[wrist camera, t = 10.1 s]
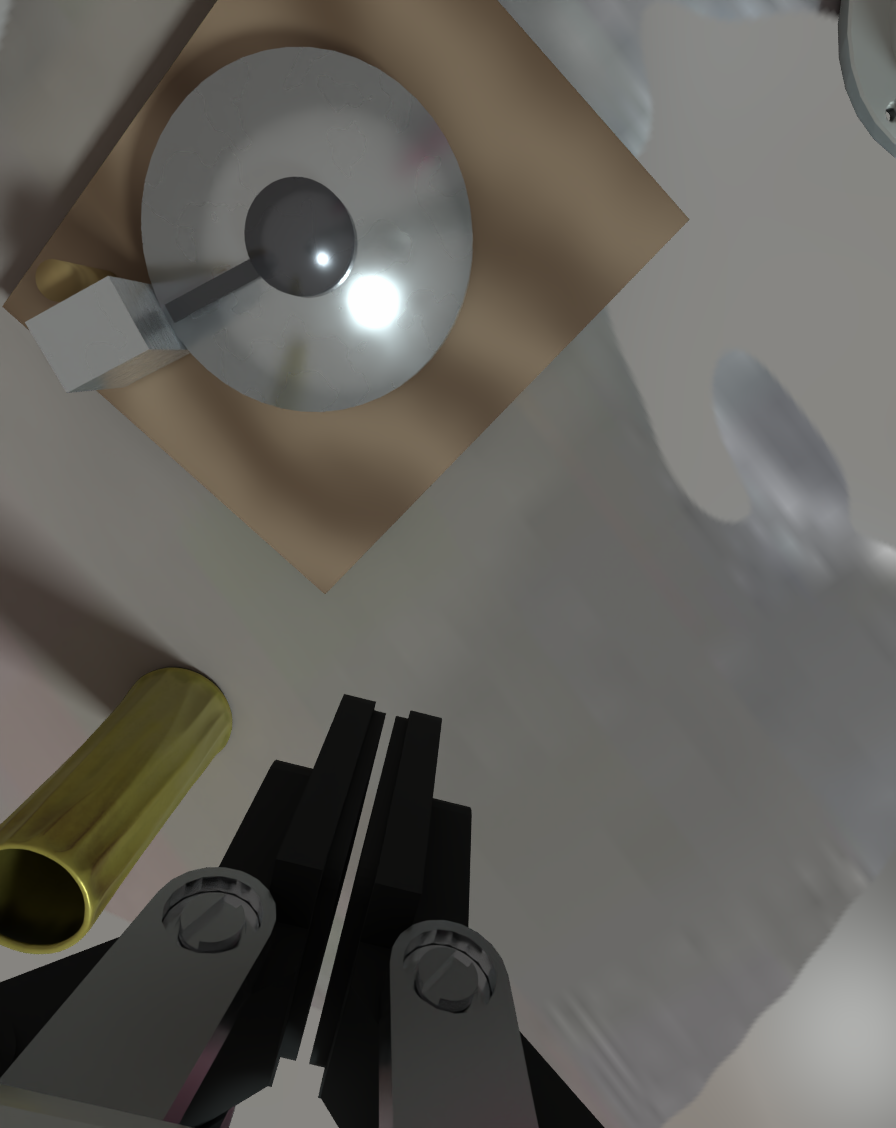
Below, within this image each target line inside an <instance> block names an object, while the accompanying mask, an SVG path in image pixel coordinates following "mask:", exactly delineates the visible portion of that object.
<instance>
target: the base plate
mask: <svg viewBox="0 0 896 1128" xmlns="http://www.w3.org/2000/svg"><path fill="white" fill-rule="evenodd" d="M283 47H314V48H320V49H326V50H332V51H336V52H339V53H342V54H346V55H349V56H352V57H355V58H357V59H360V60H362V61H364V62H366V63H368V64H370V65H372V66H374V67H376V68H378V69H379V70H381V71H382V72H384V73H385V74H387V75H388V76H390V77H391V78H393V79H394V80H396V81H397V82H398V83H400V84H401V85H402V86H403V87H404V88H405V89H406V90H407V91H409V92H410V93H411V94H412V95H413V96H414V97H415V98H416V99H417V100H418V101H419V102H420V103H421V105H422V106H423V107H424V108H425V109H426V110H427V112H428V113H429V114H430V115H431V116H432V117H433V119H434V121H435V122H436V124H437V125H438V127H439V128H440V130H441V131H442V133H443V134H444V136H445V137H446V139H447V141H448V143H449V145H450V147H451V149H452V151H453V153H454V156H455V158H456V160H457V162H458V165H459V168H460V171H461V174H462V177H463V180H464V182H465V186H466V191H467V195H468V200H469V205H470V211H471V221H472V232H473V258H472V267H471V274H470V280H469V285H468V289H467V292H466V296H465V299H464V303H463V306H462V308H461V311H460V313H459V315H458V318H457V320H456V323H455V325H454V327H453V328H452V330H451V332H450V334H449V335H448V337H447V339H446V340H445V342H444V344H443V345H442V346H441V348H440V349H439V350H438V351H437V353H436V354H435V355H434V357H433V358H432V359H431V360H430V361H429V362H428V363H427V364H426V365H425V366H424V367H423V368H422V369H421V370H420V371H419V372H418V373H417V374H416V375H415V376H413V377H412V378H411V379H410V380H408V381H407V382H406V383H404V384H403V385H402V386H400V387H398V388H397V389H395V390H393V391H391V392H390V393H388V394H386V395H384V396H382V397H380V398H377V399H375V400H372V401H370V402H367V403H365V404H362V405H359V406H355V407H351V408H347V409H343V410H336V411H326V412H301V411H295V410H289V409H283V408H279V407H275V406H272V405H269V404H265V403H262V402H259V401H257V400H255V399H253V398H250V397H248V396H246V395H244V394H242V393H240V392H238V391H237V390H235V389H233V388H232V387H230V386H228V385H227V384H225V383H224V382H222V381H221V380H220V379H218V378H217V377H216V376H215V375H213V374H212V373H211V372H210V371H208V370H207V369H206V368H205V367H204V366H203V365H202V364H201V363H200V362H199V361H198V360H197V359H196V358H195V357H194V356H193V355H192V354H191V353H189V354H187V355H185V356H184V357H182V358H180V359H178V360H176V361H174V362H172V363H170V364H168V365H166V366H164V367H163V368H161V369H159V370H157V371H155V372H153V373H151V374H149V375H147V376H145V377H143V378H141V379H140V380H138V381H136V382H134V383H132V384H130V385H128V386H126V387H122V388H112V389H102V390H97V391H98V392H99V393H100V394H101V395H102V396H103V397H104V398H106V399H107V400H108V401H109V402H110V403H111V404H112V405H113V406H114V407H116V408H117V409H118V410H119V411H120V412H121V413H122V414H123V415H125V416H126V417H127V418H128V419H129V420H130V421H131V422H132V423H134V424H135V425H136V426H137V427H138V428H139V429H140V430H141V431H143V432H144V433H145V434H146V435H147V436H148V437H149V438H150V439H151V440H153V441H154V442H155V443H156V444H157V445H158V446H159V447H160V448H162V449H163V450H164V451H165V452H166V453H167V454H168V455H169V456H171V457H172V458H173V459H174V460H175V461H176V462H177V463H178V464H180V465H181V466H182V467H183V468H184V469H185V470H186V471H187V472H188V473H190V474H191V475H192V476H193V477H194V478H195V479H196V480H197V481H199V482H200V483H201V484H202V485H203V486H204V487H205V488H206V489H208V490H209V491H210V492H211V493H212V494H213V495H214V496H215V497H217V498H218V499H219V500H220V501H221V502H222V503H223V504H224V505H225V506H227V507H228V508H229V509H230V510H231V511H232V512H233V513H234V514H236V515H237V516H238V517H239V518H240V519H241V520H242V521H243V522H245V523H246V524H247V525H248V526H249V527H250V528H251V529H252V530H254V531H255V532H256V533H257V534H258V535H259V536H260V537H261V538H262V539H264V540H265V541H266V542H267V543H268V544H269V545H270V546H271V547H273V548H274V549H275V550H276V551H277V552H278V553H279V554H280V555H282V556H283V557H284V558H285V559H286V560H287V561H288V562H289V563H290V564H292V565H293V566H294V567H295V568H296V569H297V570H298V571H299V572H301V573H302V574H303V575H304V576H305V577H306V578H307V579H308V580H310V581H311V582H312V583H313V584H314V585H315V586H316V587H317V588H319V589H320V590H321V591H322V592H323V593H324V594H326V593H327V592H328V591H329V590H330V589H331V588H332V587H333V586H334V585H335V584H336V582H337V581H338V580H339V579H340V578H341V577H342V576H343V575H344V574H345V573H346V572H347V571H348V570H349V569H350V568H351V567H352V566H353V565H354V564H355V563H356V562H357V561H358V560H359V559H360V558H361V557H362V556H363V555H364V554H365V553H366V552H367V551H368V550H369V549H370V548H371V547H372V545H373V544H374V543H375V542H376V541H377V540H378V539H379V538H380V537H381V536H382V535H383V534H384V533H385V532H386V531H387V530H388V529H389V528H390V527H391V526H392V525H393V524H394V523H395V522H396V521H397V520H398V519H399V518H400V517H401V516H402V515H403V514H404V513H405V512H406V511H407V509H408V508H409V507H410V506H411V505H412V504H413V503H414V502H415V501H416V500H417V499H418V498H419V497H420V496H421V495H422V494H423V493H424V492H425V491H426V490H427V489H428V488H429V487H430V486H431V485H432V484H433V483H434V482H435V481H436V480H437V479H438V478H439V477H440V476H441V475H442V474H443V472H444V471H445V470H446V469H447V468H448V467H449V466H450V465H451V464H452V463H453V462H454V461H455V460H456V459H457V458H458V457H459V456H460V455H461V454H462V453H463V452H464V451H465V450H466V449H467V448H468V447H469V446H470V445H471V444H472V443H473V442H474V441H475V440H476V439H477V438H478V437H479V435H480V434H481V433H482V432H483V431H484V430H485V429H486V428H487V427H488V426H489V425H490V424H491V423H492V422H493V421H494V420H495V419H496V418H497V417H498V416H499V415H500V414H501V413H502V412H503V411H504V410H505V409H506V408H507V407H508V406H509V405H510V404H511V403H512V402H513V401H514V399H515V398H516V397H517V396H518V395H519V394H520V393H521V392H522V391H523V390H524V389H525V388H526V387H527V386H528V385H529V384H530V383H531V382H532V381H533V380H534V379H535V378H536V377H537V376H538V375H539V374H540V373H541V372H542V371H543V370H544V369H545V368H546V367H547V366H548V365H549V364H550V362H551V361H552V360H553V359H554V358H555V357H556V356H557V355H558V354H559V353H560V352H561V351H562V350H563V349H564V348H565V347H566V346H567V345H568V344H569V343H570V342H571V341H572V340H573V339H574V338H575V337H576V336H577V335H578V334H579V333H580V332H581V331H582V330H583V329H584V328H585V327H586V325H587V324H588V323H589V322H590V321H591V320H592V319H593V318H594V317H595V316H596V315H597V314H598V313H599V312H600V311H601V310H602V309H603V308H604V307H605V306H606V305H607V304H608V303H609V302H610V301H611V300H612V299H613V298H614V297H615V296H616V295H617V293H618V292H620V290H621V289H622V288H623V287H624V286H625V285H626V284H627V283H628V282H629V281H630V280H631V279H632V278H633V277H634V276H635V275H636V274H637V273H638V272H639V271H640V270H641V269H642V268H643V267H644V266H645V265H646V264H647V263H648V262H649V260H650V259H652V258H653V257H654V256H655V254H656V253H657V252H658V251H659V250H660V249H661V248H662V247H663V246H664V245H665V244H666V243H667V242H668V241H669V240H670V239H671V238H672V237H673V236H674V235H675V234H676V233H677V232H678V231H679V230H680V229H681V228H682V227H683V226H684V225H685V223H687V222H688V221H689V218H688V217H687V216H686V215H685V214H684V213H683V212H682V210H681V209H680V208H679V207H678V206H677V205H676V204H675V202H674V201H673V200H672V199H671V198H670V197H669V196H668V195H667V193H666V192H665V191H664V190H663V189H662V188H661V186H659V184H658V183H657V182H656V181H655V180H654V178H653V177H652V176H651V175H650V174H649V173H648V172H647V171H646V169H645V168H644V167H643V166H642V165H641V164H640V162H639V161H638V160H637V159H636V158H635V157H634V156H633V155H632V153H631V152H630V151H629V150H628V149H627V148H626V147H625V145H624V144H623V143H622V142H621V141H620V140H619V139H618V137H617V136H616V135H615V134H614V133H613V132H612V131H611V129H610V128H609V127H608V126H607V125H606V124H605V123H604V121H603V120H602V119H601V118H600V117H599V116H598V115H597V113H596V112H595V111H594V110H593V109H592V108H591V107H590V105H589V104H588V103H587V102H586V101H585V100H584V99H583V97H582V96H581V95H580V94H579V93H578V92H577V91H576V89H575V88H574V87H573V86H572V85H571V84H570V83H569V81H568V80H567V79H566V78H565V77H564V76H563V75H562V73H561V72H560V71H559V70H558V69H557V68H556V67H555V66H554V64H553V63H552V62H551V61H550V60H549V59H548V58H547V56H546V55H545V54H544V53H543V52H542V51H541V50H540V48H539V47H538V46H537V45H536V44H535V43H534V42H533V40H532V39H531V38H530V37H529V36H528V35H527V34H526V32H525V31H524V30H523V29H522V28H521V27H520V26H519V24H518V23H517V22H516V21H515V20H514V19H513V18H512V16H511V15H510V14H509V13H508V12H507V11H506V10H505V8H504V7H503V6H502V5H501V4H500V3H499V2H498V0H217V2H216V3H215V4H214V6H213V7H212V9H211V10H210V12H209V13H208V14H207V16H206V17H205V19H204V20H203V22H202V23H201V24H200V26H199V27H198V29H197V30H196V32H195V33H194V34H193V36H192V37H191V39H190V40H189V41H188V43H187V44H186V46H185V47H184V49H183V50H182V51H181V53H180V54H179V56H178V57H177V59H176V60H175V61H174V63H173V64H172V66H171V67H170V69H169V70H168V71H167V73H166V74H165V76H164V77H163V79H162V80H161V81H160V83H159V84H158V86H157V87H156V88H155V90H154V91H153V93H152V94H151V96H150V97H149V98H148V100H147V101H146V103H145V104H144V106H143V107H142V108H141V110H140V111H139V113H138V114H137V116H136V117H135V118H134V120H133V121H132V123H131V124H130V125H129V127H128V128H127V130H126V131H125V133H124V134H123V135H122V137H121V138H120V140H119V141H118V143H117V144H116V145H115V147H114V148H113V150H112V151H111V153H110V154H109V155H108V157H107V158H106V160H105V161H104V162H103V164H102V165H101V167H100V168H99V170H98V171H97V172H96V174H95V175H94V177H93V178H92V180H91V181H90V182H89V184H88V185H87V187H86V188H85V190H84V191H83V192H82V194H81V195H80V197H79V198H78V200H77V201H76V202H75V204H74V205H73V207H72V208H71V209H70V211H69V212H68V214H67V215H66V217H65V218H64V219H63V221H62V222H61V224H60V225H59V227H58V228H57V229H56V231H55V232H54V234H53V235H52V237H51V238H50V239H49V241H48V242H47V244H46V245H45V246H44V248H43V249H42V251H41V252H40V254H39V255H38V256H37V258H36V259H35V261H34V262H33V264H32V265H31V266H30V268H29V269H28V271H27V272H26V274H25V275H24V276H23V278H22V279H21V281H20V282H19V283H18V285H17V286H16V288H15V289H14V291H13V292H12V293H11V295H10V296H9V298H8V299H7V301H6V302H5V303H4V305H3V306H2V307H4V308H5V309H6V310H7V311H8V312H9V313H10V314H11V315H12V316H14V317H15V318H16V319H17V320H18V321H19V322H20V323H21V324H23V325H24V326H25V327H26V328H27V329H28V327H27V325H26V324H25V322H26V321H28V320H30V319H31V318H33V317H35V316H37V315H39V314H40V313H42V312H44V311H46V310H48V309H49V308H51V307H53V306H55V305H57V304H58V303H60V302H62V301H64V300H66V299H67V298H69V297H71V296H73V295H75V294H76V293H78V292H80V291H82V290H83V289H85V288H87V287H89V286H91V285H92V284H94V283H96V282H98V281H100V280H101V279H103V278H105V277H107V276H112V277H117V278H122V279H127V280H132V281H137V282H142V283H147V284H151V281H150V278H149V275H148V270H147V266H146V261H145V256H144V252H143V242H142V232H141V209H142V198H143V191H144V184H145V178H146V175H147V171H148V167H149V164H150V160H151V157H152V154H153V152H154V149H155V147H156V145H157V142H158V140H159V137H160V135H161V133H162V132H163V130H164V128H165V127H166V125H167V123H168V121H169V120H170V118H171V116H172V115H173V113H174V112H175V111H176V110H177V108H178V107H179V106H180V104H181V103H182V102H183V101H184V99H185V98H186V97H187V96H188V95H189V94H190V93H191V92H192V91H193V90H194V89H195V88H196V87H197V86H198V85H199V84H200V83H201V82H203V81H204V80H205V79H207V78H208V77H209V76H211V75H212V74H214V73H215V72H216V71H218V70H219V69H221V68H222V67H224V66H226V65H228V64H230V63H232V62H234V61H236V60H238V59H240V58H242V57H245V56H248V55H252V54H255V53H258V52H261V51H264V50H270V49H277V48H283ZM28 330H29V329H28ZM29 331H30V330H29Z"/></svg>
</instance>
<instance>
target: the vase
mask: <svg viewBox="0 0 896 1128" xmlns="http://www.w3.org/2000/svg"><path fill="white" fill-rule="evenodd" d="M231 730H232V714H231V710H230V707H229V704H228V702H227V700H226V698H225V696H224V695H223V693H222V692H221V691H220V690H219V688H218V687H217V686H216V685H215V684H214V683H212V682H211V681H210V680H209V679H207V678H206V677H204V676H202V675H200V674H198V673H196V672H194V671H190V670H187V669H183V668H174V667H170V668H163V669H159V670H155V671H152V672H150V673H147V674H146V675H144V676H142V677H141V678H140V679H139V680H138V681H137V682H136V683H135V684H134V685H133V687H132V688H131V689H130V690H129V692H128V694H127V695H126V697H125V698H124V699H123V701H122V702H121V703H120V704H119V705H118V707H117V708H116V709H115V710H114V711H113V712H112V713H111V714H110V715H109V717H108V718H107V719H106V720H105V721H104V722H103V723H102V724H101V725H100V726H99V727H98V729H97V730H96V731H95V732H94V733H93V734H92V735H91V736H90V737H89V738H88V739H87V741H86V742H85V743H84V744H83V745H82V746H81V747H80V748H79V749H78V750H77V751H76V752H75V753H74V754H73V755H72V756H71V757H70V758H69V759H68V760H67V761H66V762H65V763H64V764H63V765H62V766H61V767H60V768H59V769H58V770H57V771H56V772H55V773H54V774H53V775H52V776H50V777H49V778H48V779H47V780H46V781H45V782H44V783H43V784H42V785H41V786H40V787H39V788H38V789H37V790H36V791H35V792H34V793H33V794H32V795H31V796H30V797H29V798H28V799H27V800H26V801H25V802H24V803H22V804H21V805H20V806H19V807H18V808H17V809H16V810H15V811H14V812H13V813H12V814H11V815H10V816H9V817H8V818H7V819H6V820H5V821H4V822H3V823H1V824H0V945H2V946H5V947H7V948H10V949H13V950H16V951H20V952H23V953H30V954H50V953H55V952H60V951H62V950H65V949H67V948H69V947H71V946H73V945H74V944H76V943H77V942H78V941H79V940H81V939H82V938H83V937H84V936H85V935H86V933H87V932H88V931H89V930H90V929H91V927H92V926H93V924H94V923H95V921H96V920H97V918H98V917H99V915H100V914H101V913H102V911H103V910H104V908H105V907H106V905H107V904H108V902H109V901H110V900H111V898H112V897H113V895H114V894H115V892H116V891H117V889H118V888H119V886H120V885H121V884H122V882H123V881H124V879H125V878H126V877H127V875H128V874H129V872H130V871H131V869H132V868H133V866H134V865H135V864H136V862H137V861H138V859H139V858H140V857H141V855H142V854H143V852H144V851H145V850H146V848H147V847H148V846H149V844H150V843H151V842H152V840H153V839H154V837H155V836H156V835H157V833H158V832H159V831H160V829H161V828H162V827H163V825H164V824H165V822H166V821H167V819H168V818H169V817H170V815H171V814H172V813H173V811H174V810H175V809H176V807H177V806H178V805H179V803H180V802H181V801H182V799H183V798H184V796H185V795H186V794H187V792H188V791H189V789H190V788H191V787H192V786H193V784H194V783H195V782H196V781H197V779H198V778H199V777H200V776H201V774H202V773H203V772H204V770H205V769H206V768H207V766H208V765H209V764H210V762H211V761H212V759H213V758H214V757H215V756H216V754H217V753H219V752H220V751H221V750H222V749H223V748H224V747H225V745H226V744H227V742H228V740H229V737H230V734H231Z"/></svg>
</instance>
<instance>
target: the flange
mask: <svg viewBox="0 0 896 1128" xmlns="http://www.w3.org/2000/svg"><path fill="white" fill-rule="evenodd" d="M141 232H142V242H143V252H144V256H145V261H146V266H147V270H148V275H149V278H150V281H151V284H147V283H142V282H137V281H132V280H127V279H122V278H117V277H112V276H107V277H105V278H103V279H101V280H100V281H98V282H96V283H94V284H92V285H91V286H89V287H87V288H85V289H83V290H82V291H80V292H78V293H76V294H75V295H73V296H71V297H69V298H67V299H66V300H64V301H62V302H60V303H58V304H57V305H55V306H53V307H51V308H49V309H48V310H46V311H44V312H42V313H40V314H39V315H37V316H35V317H33V318H31V319H30V320H28V321H26V322H25V324H26V325H27V327H28V329H29V330H30V332H31V334H32V335H33V337H34V339H35V340H36V342H37V344H38V345H39V347H40V349H41V350H42V352H43V354H44V356H45V357H46V359H47V361H48V362H49V364H50V366H51V367H52V369H53V371H54V372H55V374H56V376H57V377H58V379H59V381H60V383H61V384H62V386H63V388H64V389H65V391H66V393H72V392H82V391H92V390H102V389H112V388H122V387H126V386H128V385H130V384H132V383H134V382H136V381H138V380H140V379H141V378H143V377H145V376H147V375H149V374H151V373H153V372H155V371H157V370H159V369H161V368H163V367H164V366H166V365H168V364H170V363H172V362H174V361H176V360H178V359H180V358H182V357H184V356H185V355H187V354H189V353H191V354H192V355H193V356H194V357H195V358H196V359H197V360H198V361H199V362H200V363H201V364H202V365H203V366H204V367H205V368H206V369H207V370H208V371H210V372H211V373H212V374H213V375H215V376H216V377H217V378H218V379H220V380H221V381H222V382H224V383H225V384H227V385H228V386H230V387H232V388H233V389H235V390H237V391H238V392H240V393H242V394H244V395H246V396H248V397H250V398H253V399H255V400H257V401H259V402H262V403H265V404H269V405H272V406H275V407H279V408H283V409H289V410H295V411H301V412H326V411H336V410H343V409H347V408H351V407H355V406H359V405H362V404H365V403H367V402H370V401H372V400H375V399H377V398H380V397H382V396H384V395H386V394H388V393H390V392H391V391H393V390H395V389H397V388H398V387H400V386H402V385H403V384H404V383H406V382H407V381H408V380H410V379H411V378H412V377H413V376H415V375H416V374H417V373H418V372H419V371H420V370H421V369H422V368H423V367H424V366H425V365H426V364H427V363H428V362H429V361H430V360H431V359H432V358H433V357H434V355H435V354H436V353H437V351H438V350H439V349H440V348H441V346H442V345H443V344H444V342H445V340H446V339H447V337H448V335H449V334H450V332H451V330H452V328H453V327H454V325H455V323H456V320H457V318H458V315H459V313H460V311H461V308H462V306H463V303H464V299H465V296H466V292H467V289H468V285H469V280H470V274H471V267H472V258H473V232H472V221H471V211H470V205H469V200H468V195H467V191H466V186H465V182H464V180H463V177H462V174H461V171H460V168H459V165H458V162H457V160H456V158H455V156H454V153H453V151H452V149H451V147H450V145H449V143H448V141H447V139H446V137H445V136H444V134H443V133H442V131H441V130H440V128H439V127H438V125H437V124H436V122H435V121H434V119H433V117H432V116H431V115H430V114H429V113H428V112H427V110H426V109H425V108H424V107H423V106H422V105H421V103H420V102H419V101H418V100H417V99H416V98H415V97H414V96H413V95H412V94H411V93H410V92H409V91H407V90H406V89H405V88H404V87H403V86H402V85H401V84H400V83H398V82H397V81H396V80H394V79H393V78H391V77H390V76H388V75H387V74H385V73H384V72H382V71H381V70H379V69H378V68H376V67H374V66H372V65H370V64H368V63H366V62H364V61H362V60H360V59H357V58H355V57H352V56H349V55H346V54H342V53H339V52H336V51H332V50H326V49H320V48H314V47H283V48H277V49H270V50H264V51H261V52H258V53H255V54H252V55H248V56H245V57H242V58H240V59H238V60H236V61H234V62H232V63H230V64H228V65H226V66H224V67H222V68H221V69H219V70H218V71H216V72H215V73H214V74H212V75H211V76H209V77H208V78H207V79H205V80H204V81H203V82H201V83H200V84H199V85H198V86H197V87H196V88H195V89H194V90H193V91H192V92H191V93H190V94H189V95H188V96H187V97H186V98H185V99H184V101H183V102H182V103H181V104H180V106H179V107H178V108H177V110H176V111H175V112H174V113H173V115H172V116H171V118H170V120H169V121H168V123H167V125H166V127H165V128H164V130H163V132H162V133H161V135H160V137H159V140H158V142H157V145H156V147H155V149H154V152H153V154H152V157H151V160H150V164H149V167H148V171H147V175H146V178H145V184H144V191H143V198H142V209H141Z"/></svg>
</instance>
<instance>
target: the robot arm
mask: <svg viewBox="0 0 896 1128" xmlns="http://www.w3.org/2000/svg"><path fill="white" fill-rule="evenodd" d="M838 43H839V60H840V65H841V70H842V75H843V79H844V84H845V89H846V91H847V93H848V96H849V98H850V100H851V103H852V105H853V107H854V110H855V112H856V114H857V116H858V118H859V119H860V121H861V122H862V123H863V125H864V126H865V127H866V129H867V130H868V132H869V133H870V135H871V136H872V137H873V139H874V140H875V141H877V142H878V143H879V144H880V145H881V146H882V147H883V148H884V149H886V150H887V151H888V152H889V153H890V154H891V155H892V156H893V157H895V158H896V0H841V7H840V14H839V21H838ZM886 111H887V112H888V113H889V114H890V121H888V120H887V118H886V115H885V113H886ZM375 703H376V702H374V701H370V700H366V699H362V698H358V697H354V696H350V695H346V694H344V696H343V698H342V700H341V703H340V705H339V707H338V710H337V712H336V715H335V717H334V720H333V722H332V724H331V727H330V729H329V732H328V734H327V737H326V739H325V741H324V744H323V746H322V749H321V751H320V754H319V756H318V758H317V761H316V763H315V766H314V768H313V769H312V768H307V767H303V766H299V765H295V764H291V763H287V762H283V761H279V760H275V761H274V762H273V764H272V765H271V767H270V769H269V771H268V773H267V775H266V777H265V779H264V781H263V782H262V784H261V786H260V788H259V790H258V792H257V794H256V796H255V798H254V800H253V802H252V804H251V806H250V808H249V810H248V811H247V813H246V815H245V817H244V819H243V821H242V823H241V825H240V827H239V829H238V831H237V833H236V835H235V837H234V839H233V840H232V842H231V844H230V846H229V848H228V850H227V852H226V854H225V856H224V858H223V860H222V862H221V864H220V866H219V867H206V868H202V869H198V870H193V871H189V872H186V873H184V874H182V875H180V876H178V877H176V878H174V879H172V880H171V881H170V882H169V883H167V884H166V885H165V886H164V887H163V888H162V889H161V890H159V891H158V892H157V894H156V895H155V896H154V897H153V898H152V899H151V901H150V902H149V903H148V904H147V905H146V907H145V908H144V909H143V910H142V911H141V912H140V914H139V915H138V916H137V917H136V918H135V920H134V921H133V922H132V923H131V924H130V925H129V927H128V928H127V929H126V930H125V931H124V933H123V934H122V935H121V936H120V937H118V938H116V939H113V940H110V941H108V942H105V943H102V944H100V945H97V946H94V947H92V948H89V949H87V950H84V951H82V952H79V953H76V954H74V955H71V956H68V957H66V958H63V959H60V960H58V961H55V962H52V963H50V964H47V965H45V966H42V967H39V968H37V969H34V970H32V971H29V972H26V973H24V974H21V975H18V976H16V977H14V978H11V979H8V980H5V981H3V982H0V1128H229V1126H230V1123H231V1120H232V1117H233V1114H234V1111H235V1106H236V1105H237V1104H239V1103H240V1102H242V1101H244V1100H245V1099H247V1098H249V1097H250V1096H252V1095H254V1094H255V1093H257V1092H259V1091H260V1090H262V1089H263V1088H265V1087H267V1086H270V1087H272V1083H273V1080H274V1077H275V1073H276V1070H277V1066H278V1063H279V1059H280V1057H283V1058H287V1059H291V1060H295V1061H296V1058H297V1055H298V1051H299V1047H300V1044H301V1039H302V1036H303V1032H304V1029H305V1025H306V1021H307V1017H308V1014H309V1010H310V1006H311V1002H312V999H313V995H314V991H315V987H316V984H317V980H318V976H319V972H320V969H321V965H322V961H323V957H324V954H325V950H326V946H327V942H328V939H329V935H330V931H331V928H332V924H333V920H334V916H335V913H336V909H337V905H338V901H339V898H340V894H341V890H342V886H343V883H344V879H345V875H346V871H347V868H348V864H349V860H350V856H351V852H352V848H353V844H354V840H355V836H356V832H357V828H358V824H359V820H360V816H361V812H362V808H363V804H364V800H365V796H366V792H367V788H368V784H369V780H370V776H371V772H372V768H373V764H374V760H375V756H376V752H377V748H378V744H379V740H380V736H381V732H382V728H383V724H384V720H385V715H386V713H383V712H379V711H375V710H374V708H375ZM441 723H442V718H439V717H435V716H431V715H427V714H423V713H419V712H415V711H410V714H409V718H408V719H407V718H403V717H399V716H396V718H395V722H394V726H393V730H392V734H391V738H390V742H389V746H388V750H387V754H386V758H385V762H384V766H383V769H382V773H381V777H380V781H379V785H378V789H377V793H376V797H375V801H374V805H373V809H372V813H371V817H370V821H369V825H368V829H367V833H366V836H365V840H364V844H363V848H362V852H361V856H360V860H359V864H358V868H357V872H356V876H355V880H354V884H353V888H352V892H351V897H350V901H349V905H348V909H347V913H346V917H345V921H344V925H343V929H342V933H341V937H340V941H339V945H338V949H337V953H336V957H335V961H334V965H333V969H332V973H331V977H330V981H329V985H328V989H327V994H326V998H325V1002H324V1006H323V1010H322V1014H321V1018H320V1022H319V1026H318V1030H317V1034H316V1038H315V1042H314V1046H313V1050H312V1054H311V1058H310V1064H312V1065H317V1066H321V1067H325V1070H324V1074H323V1078H322V1083H321V1087H320V1092H319V1096H318V1098H321V1099H322V1101H323V1102H324V1104H325V1106H326V1107H327V1109H328V1110H329V1112H330V1114H331V1116H332V1117H333V1119H334V1120H335V1122H336V1124H337V1125H338V1127H339V1128H604V1127H603V1126H602V1124H601V1123H600V1122H599V1121H598V1120H597V1119H596V1118H595V1116H594V1115H593V1114H592V1113H591V1112H590V1111H589V1110H588V1108H587V1107H586V1106H585V1105H584V1104H583V1103H582V1102H581V1100H580V1099H579V1098H578V1097H577V1096H576V1095H575V1094H574V1093H573V1091H572V1090H571V1089H570V1088H569V1087H568V1086H567V1085H566V1083H565V1082H564V1081H563V1080H562V1079H561V1078H560V1077H559V1075H558V1074H557V1073H556V1072H555V1071H554V1070H553V1069H552V1067H551V1066H550V1065H549V1064H548V1063H547V1062H546V1061H545V1060H544V1058H543V1057H542V1056H541V1055H540V1054H539V1053H538V1052H537V1050H536V1049H535V1048H534V1047H533V1046H532V1045H531V1044H530V1042H529V1041H528V1040H527V1039H526V1038H525V1037H524V1036H523V1034H522V1033H521V1032H520V1031H519V1027H518V1022H517V1017H516V1012H515V1007H514V1002H513V997H512V992H511V987H510V982H509V977H508V973H507V971H506V968H505V965H504V962H503V960H502V958H501V957H500V955H499V954H498V952H497V951H496V950H495V948H494V947H493V945H492V944H491V943H489V942H488V941H487V940H486V939H485V938H484V937H482V936H481V935H480V934H479V933H478V932H476V931H474V930H472V929H470V928H468V919H469V885H470V852H471V818H472V814H471V808H470V807H467V806H463V805H459V804H455V803H451V802H447V801H442V800H438V799H434V798H433V791H434V783H435V774H436V766H437V757H438V749H439V740H440V732H441Z"/></svg>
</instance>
